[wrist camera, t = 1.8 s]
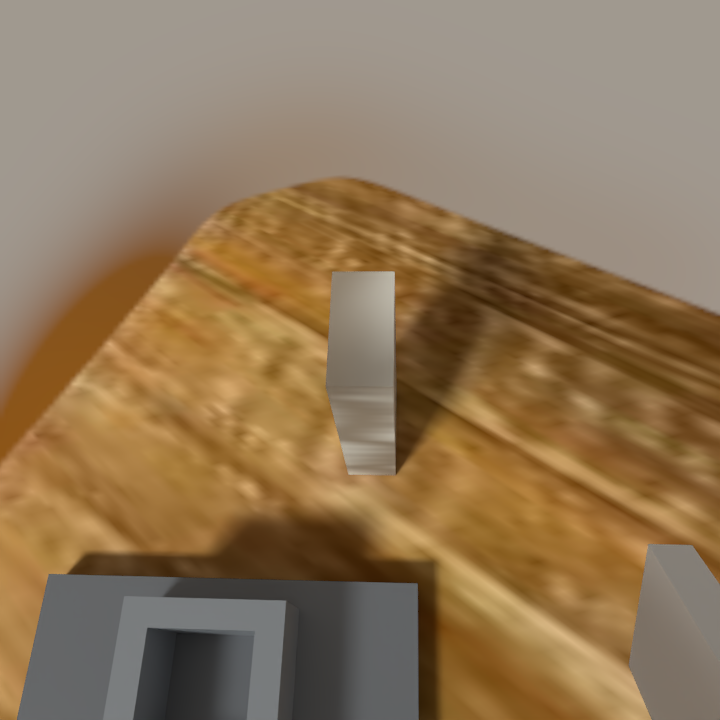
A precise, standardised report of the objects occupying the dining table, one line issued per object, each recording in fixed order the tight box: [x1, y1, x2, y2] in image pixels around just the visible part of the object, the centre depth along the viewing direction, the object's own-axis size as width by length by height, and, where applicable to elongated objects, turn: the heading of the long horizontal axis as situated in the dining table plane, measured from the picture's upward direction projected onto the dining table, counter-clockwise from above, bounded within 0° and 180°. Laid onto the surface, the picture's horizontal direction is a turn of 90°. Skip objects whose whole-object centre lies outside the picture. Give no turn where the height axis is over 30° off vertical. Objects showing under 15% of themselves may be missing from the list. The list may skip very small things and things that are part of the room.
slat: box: [326, 272, 396, 475], centre depth 31 cm, size 2×5×12 cm, turn 178°
